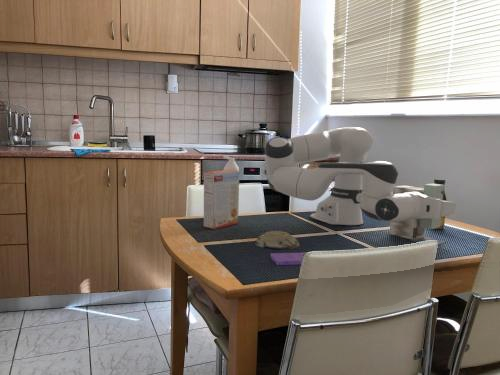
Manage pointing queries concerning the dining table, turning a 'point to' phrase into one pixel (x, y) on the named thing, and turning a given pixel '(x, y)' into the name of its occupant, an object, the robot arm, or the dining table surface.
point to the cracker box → (221, 198)
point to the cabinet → (409, 221)
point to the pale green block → (434, 192)
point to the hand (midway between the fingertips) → (433, 201)
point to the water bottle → (230, 164)
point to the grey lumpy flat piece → (277, 240)
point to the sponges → (287, 258)
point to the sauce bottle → (442, 182)
